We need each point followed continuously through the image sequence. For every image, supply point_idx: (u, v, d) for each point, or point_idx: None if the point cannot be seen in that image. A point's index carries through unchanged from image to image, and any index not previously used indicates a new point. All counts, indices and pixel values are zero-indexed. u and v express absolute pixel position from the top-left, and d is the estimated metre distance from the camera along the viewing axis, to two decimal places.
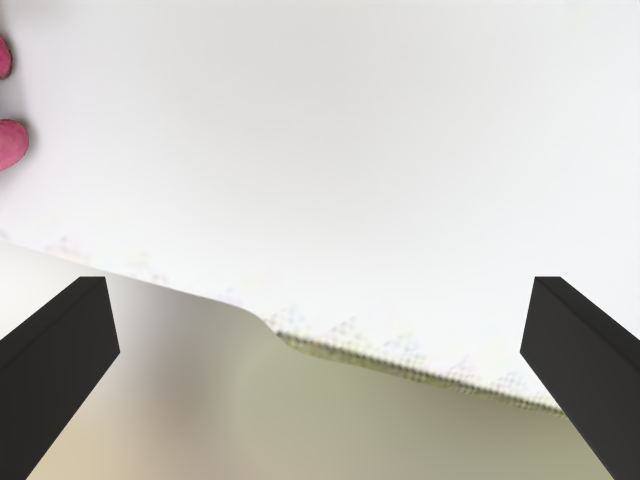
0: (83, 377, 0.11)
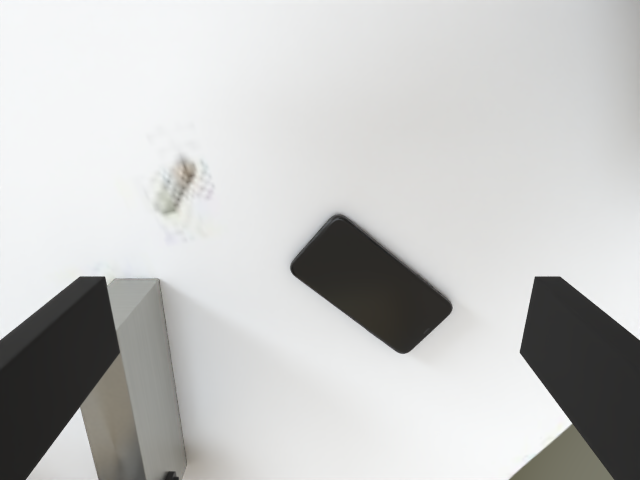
0: (83, 377, 0.11)
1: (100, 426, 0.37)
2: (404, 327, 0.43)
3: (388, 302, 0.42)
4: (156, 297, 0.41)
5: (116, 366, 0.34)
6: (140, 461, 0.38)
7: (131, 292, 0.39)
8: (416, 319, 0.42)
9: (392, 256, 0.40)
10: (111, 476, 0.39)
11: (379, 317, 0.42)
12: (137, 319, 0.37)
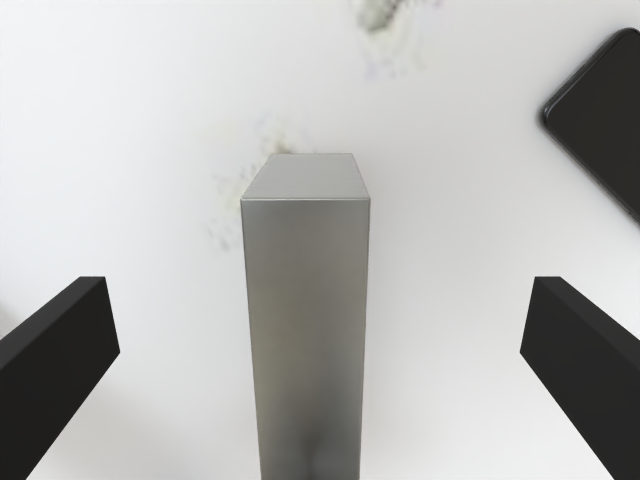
0: (83, 377, 0.11)
1: (288, 422, 0.18)
2: None
3: None
4: None
5: (351, 289, 0.15)
6: None
7: (327, 163, 0.20)
8: None
9: None
10: None
11: None
12: None
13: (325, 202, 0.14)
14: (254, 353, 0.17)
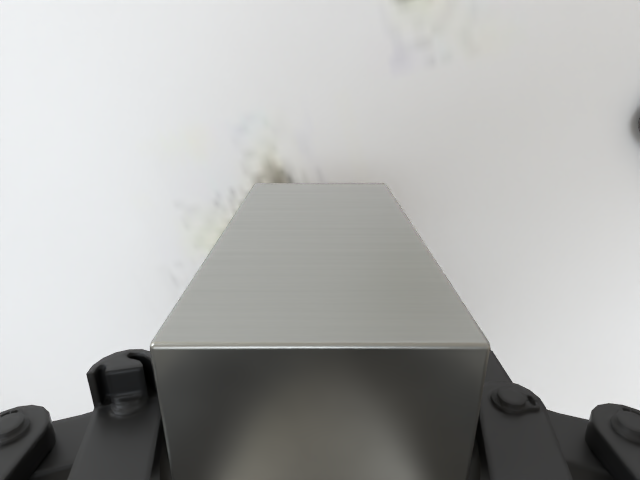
0: None
1: None
2: None
3: None
4: None
5: None
6: None
7: (349, 207, 0.11)
8: None
9: None
10: None
11: None
12: None
13: (371, 353, 0.05)
14: None
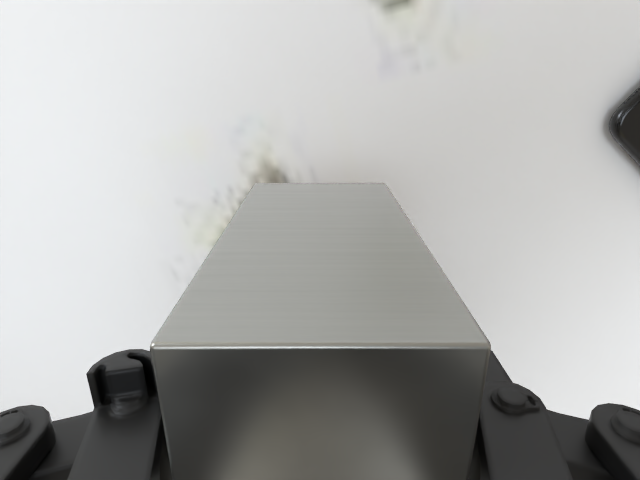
0: None
1: None
2: None
3: None
4: None
5: None
6: None
7: (349, 207, 0.11)
8: None
9: None
10: None
11: None
12: None
13: (372, 354, 0.05)
14: None
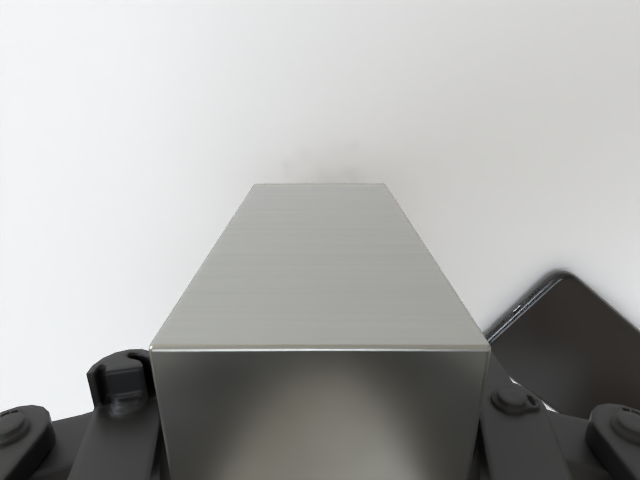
0: None
1: None
2: None
3: (619, 392, 0.29)
4: None
5: None
6: None
7: (349, 208, 0.11)
8: None
9: (636, 329, 0.27)
10: None
11: None
12: None
13: (372, 356, 0.05)
14: None
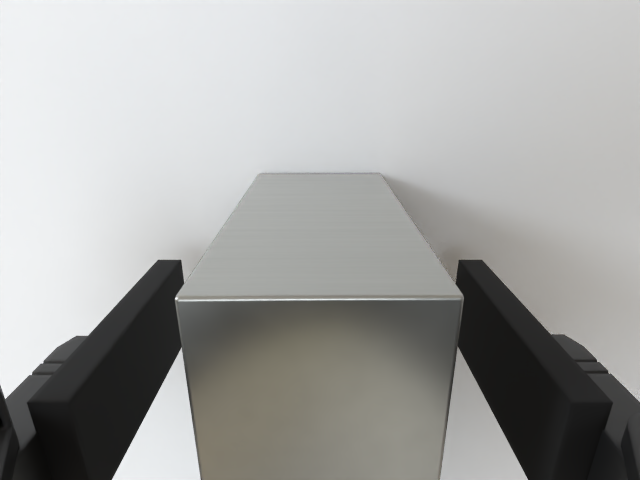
0: (168, 350, 0.12)
1: None
2: None
3: None
4: None
5: (411, 467, 0.08)
6: None
7: (346, 193, 0.12)
8: None
9: None
10: None
11: None
12: None
13: (364, 304, 0.06)
14: None
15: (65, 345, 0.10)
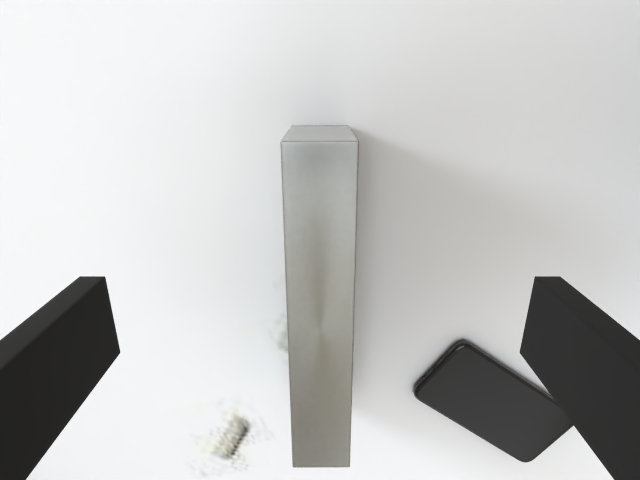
0: (83, 377, 0.11)
1: (306, 294, 0.27)
2: (528, 439, 0.42)
3: (512, 417, 0.41)
4: None
5: (347, 200, 0.25)
6: (350, 346, 0.29)
7: (331, 129, 0.30)
8: (540, 431, 0.42)
9: (517, 376, 0.40)
10: (307, 370, 0.29)
11: (503, 431, 0.42)
12: None
13: (331, 143, 0.24)
14: (286, 244, 0.26)
15: None
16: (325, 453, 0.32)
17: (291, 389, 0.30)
